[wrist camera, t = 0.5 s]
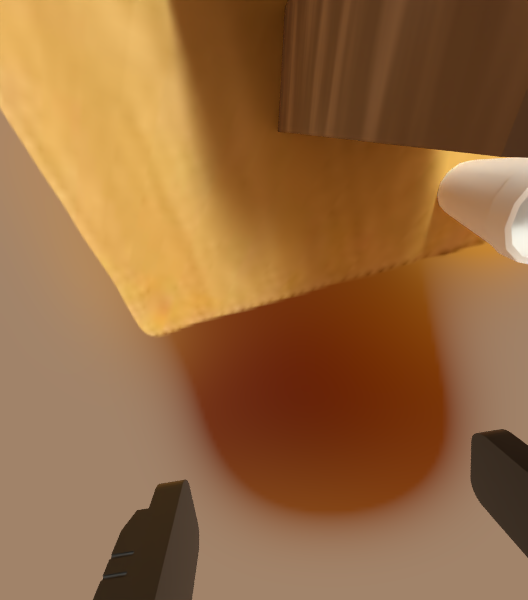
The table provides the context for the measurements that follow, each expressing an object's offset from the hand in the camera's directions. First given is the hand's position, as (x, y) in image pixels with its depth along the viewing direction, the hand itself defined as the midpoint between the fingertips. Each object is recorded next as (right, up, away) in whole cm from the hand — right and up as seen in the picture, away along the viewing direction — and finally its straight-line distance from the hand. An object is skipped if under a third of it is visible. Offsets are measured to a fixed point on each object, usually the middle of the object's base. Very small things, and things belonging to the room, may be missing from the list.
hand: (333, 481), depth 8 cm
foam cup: (+23, +19, +29) cm, 42 cm away
